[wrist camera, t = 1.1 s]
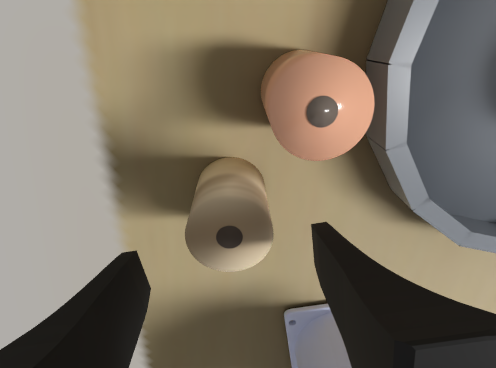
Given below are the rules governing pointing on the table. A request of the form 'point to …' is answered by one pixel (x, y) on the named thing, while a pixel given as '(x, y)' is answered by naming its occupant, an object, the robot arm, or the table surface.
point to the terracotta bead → (317, 103)
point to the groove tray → (438, 113)
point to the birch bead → (229, 216)
